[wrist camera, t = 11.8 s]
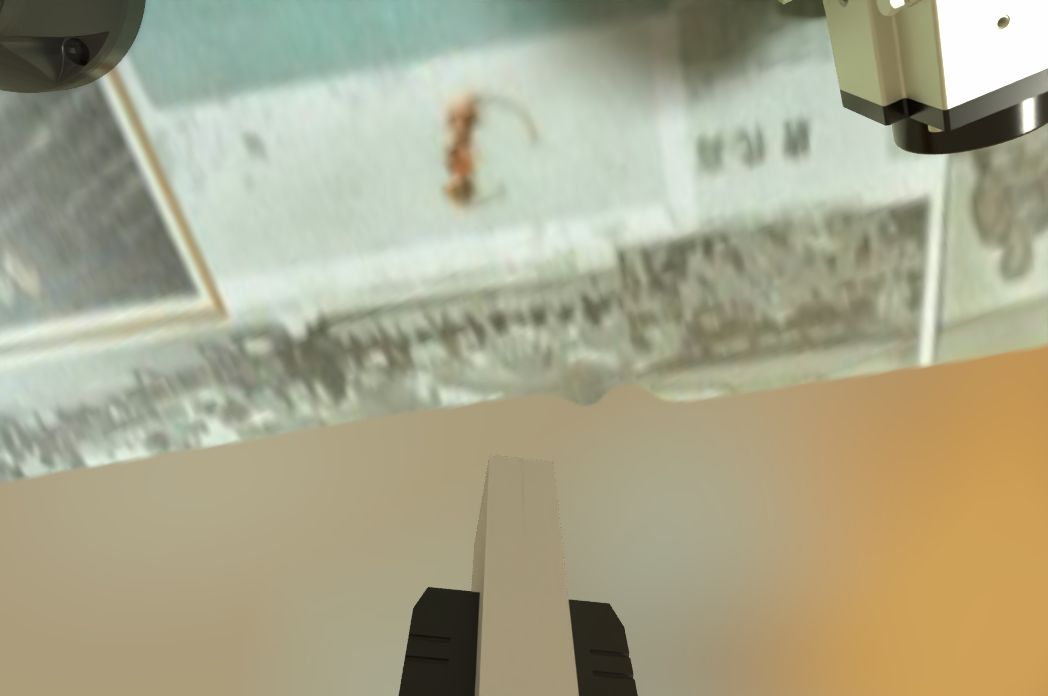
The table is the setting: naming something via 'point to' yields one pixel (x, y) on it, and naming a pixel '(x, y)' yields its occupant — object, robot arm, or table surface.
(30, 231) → the table surface
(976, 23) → the ball valve
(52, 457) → the table surface
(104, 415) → the table surface
